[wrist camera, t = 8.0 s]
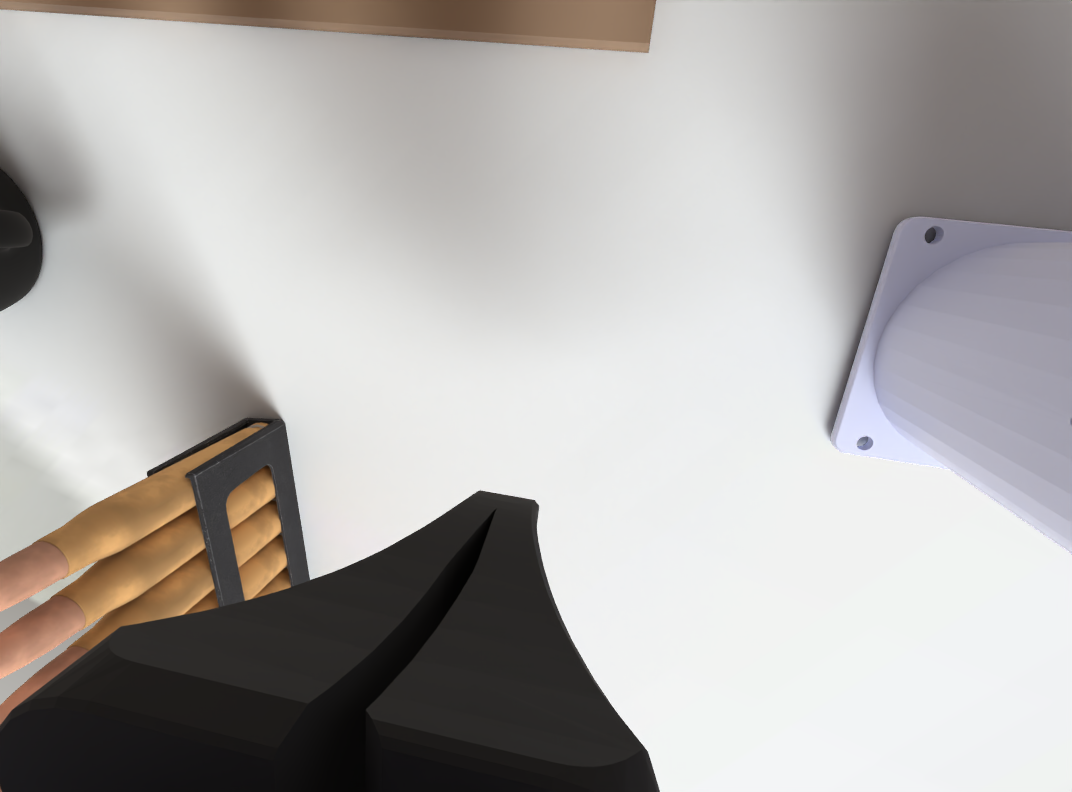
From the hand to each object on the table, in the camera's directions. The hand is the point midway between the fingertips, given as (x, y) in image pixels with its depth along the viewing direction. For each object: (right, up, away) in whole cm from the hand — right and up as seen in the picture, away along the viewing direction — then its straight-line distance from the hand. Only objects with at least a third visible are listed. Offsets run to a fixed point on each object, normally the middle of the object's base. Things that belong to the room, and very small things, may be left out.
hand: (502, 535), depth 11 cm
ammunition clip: (-11, -3, +13) cm, 17 cm away
